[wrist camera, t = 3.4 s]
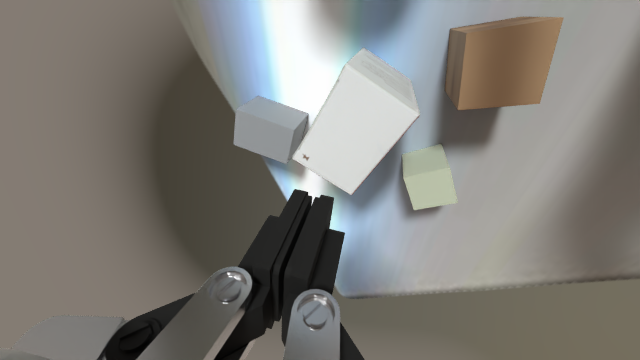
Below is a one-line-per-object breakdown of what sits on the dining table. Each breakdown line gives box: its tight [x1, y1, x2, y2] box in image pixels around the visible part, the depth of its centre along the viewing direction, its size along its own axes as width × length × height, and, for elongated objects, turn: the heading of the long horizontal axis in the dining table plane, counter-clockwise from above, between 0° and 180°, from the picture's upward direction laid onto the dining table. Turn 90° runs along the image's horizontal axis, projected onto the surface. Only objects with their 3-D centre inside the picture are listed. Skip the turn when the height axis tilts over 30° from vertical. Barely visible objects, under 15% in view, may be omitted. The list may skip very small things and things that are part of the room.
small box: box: [292, 48, 420, 195], centre depth 21 cm, size 8×6×10 cm
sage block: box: [402, 144, 458, 210], centre depth 26 cm, size 4×4×5 cm
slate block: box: [234, 96, 308, 164], centre depth 27 cm, size 6×4×5 cm, turn 75°
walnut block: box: [445, 17, 563, 110], centre depth 19 cm, size 5×5×6 cm
